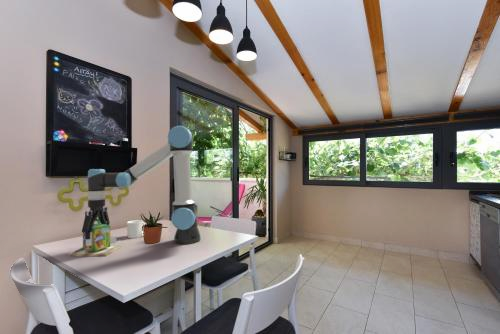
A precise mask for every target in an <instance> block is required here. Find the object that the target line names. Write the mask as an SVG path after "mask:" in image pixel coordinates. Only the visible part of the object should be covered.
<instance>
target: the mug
mask: <svg viewBox="0 0 500 334" xmlns="http://www.w3.org/2000/svg"><path fill="white" fill-rule="evenodd" d="M145 224H146V223H145V222H144V220H141V219H135V220H130V221H129V220H128V221H127V222H126V234H127V236H126V238H127V239H138V238H142V237H143V236H144V234H143V233H144V230H143V231H142V226H143V227H144V226H145Z"/></svg>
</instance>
